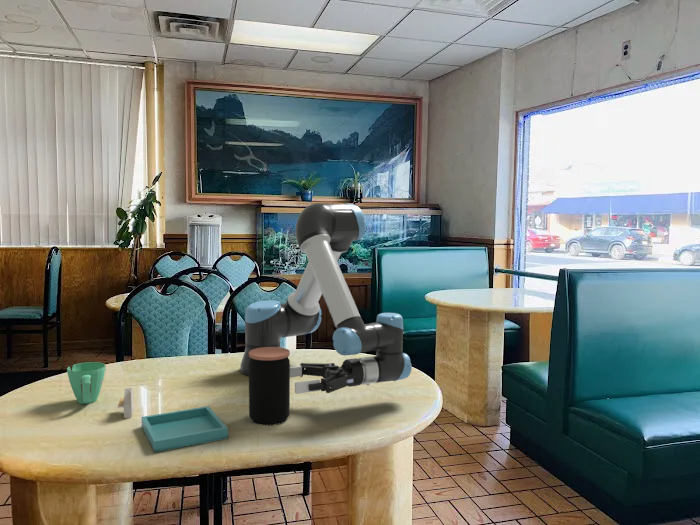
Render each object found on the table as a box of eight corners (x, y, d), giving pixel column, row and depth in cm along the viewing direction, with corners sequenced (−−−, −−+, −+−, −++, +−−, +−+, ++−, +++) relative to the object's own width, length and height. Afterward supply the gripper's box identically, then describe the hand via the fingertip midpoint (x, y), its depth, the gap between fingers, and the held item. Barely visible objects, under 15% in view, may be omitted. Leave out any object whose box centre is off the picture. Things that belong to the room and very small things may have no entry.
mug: (68, 397, 162) (67, 364, 161) (105, 393, 166) (104, 360, 165) (67, 415, 149) (65, 378, 148) (107, 409, 153) (106, 374, 152)
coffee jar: (296, 414, 152) (296, 348, 150) (278, 428, 142) (278, 358, 140) (261, 409, 155) (260, 345, 153) (241, 423, 145) (240, 354, 143)
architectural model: (117, 421, 147) (116, 393, 146) (120, 411, 153) (120, 385, 153) (131, 419, 148) (130, 392, 147) (134, 410, 154) (133, 384, 154)
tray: (141, 426, 142) (141, 416, 141) (208, 415, 150) (208, 405, 150) (154, 452, 127) (154, 441, 127) (228, 438, 135) (227, 427, 135)
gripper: (379, 398, 147) (303, 409, 138) (340, 372, 169) (272, 381, 160) (380, 370, 146) (303, 380, 137) (341, 348, 168) (272, 355, 160)
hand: (286, 380), depth 149 cm, fingers open, 13 cm apart
